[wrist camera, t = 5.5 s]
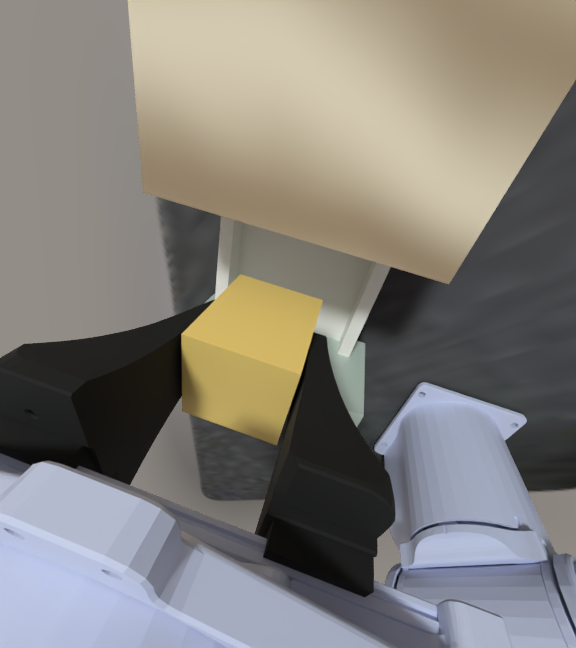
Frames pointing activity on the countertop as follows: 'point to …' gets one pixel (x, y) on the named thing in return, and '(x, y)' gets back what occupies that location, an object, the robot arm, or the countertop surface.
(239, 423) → the block
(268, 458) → the countertop surface
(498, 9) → the beige wooden rectangular box
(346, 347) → the pale green drawer
